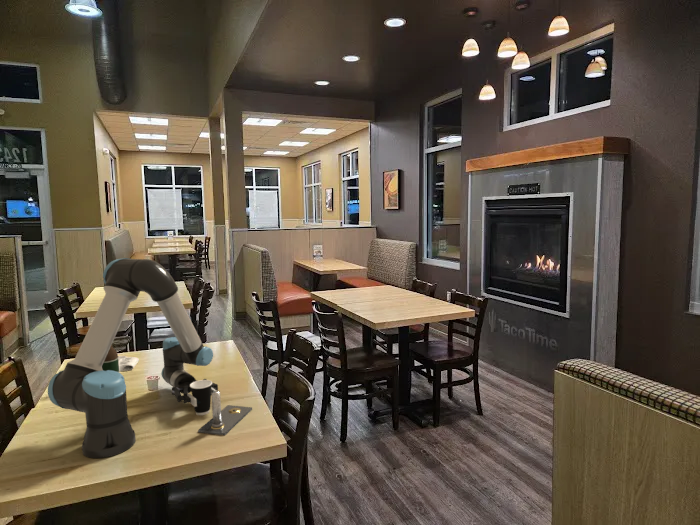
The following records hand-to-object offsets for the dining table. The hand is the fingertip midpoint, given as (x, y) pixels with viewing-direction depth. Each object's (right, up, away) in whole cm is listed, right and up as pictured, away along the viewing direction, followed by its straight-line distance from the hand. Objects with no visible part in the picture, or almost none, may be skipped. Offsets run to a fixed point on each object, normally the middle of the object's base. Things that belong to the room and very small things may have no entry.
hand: (207, 399), depth 165 cm
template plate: (+8, -7, -2) cm, 10 cm away
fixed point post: (+6, -7, -8) cm, 13 cm away
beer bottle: (-53, -4, +35) cm, 63 cm away
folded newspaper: (-59, -2, +55) cm, 80 cm away
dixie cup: (-3, -6, +4) cm, 8 cm away
